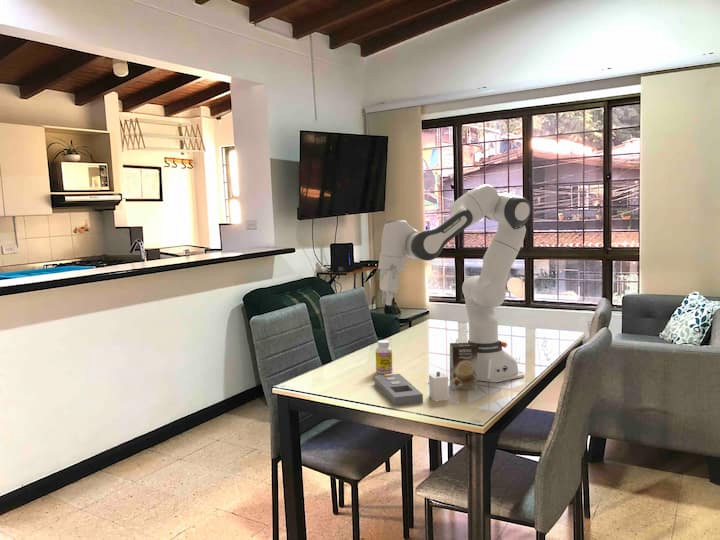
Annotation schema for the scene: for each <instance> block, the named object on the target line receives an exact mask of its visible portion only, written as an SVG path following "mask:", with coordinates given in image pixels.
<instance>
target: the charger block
mask: <svg viewBox="0 0 720 540" xmlns="http://www.w3.org/2000/svg"><path fill="white" fill-rule="evenodd" d="M428 387H429V388H428V390H429V398H431V400H432V401H434V402H437V400H438V401H444V400H445V399H446V400H449V377H448V376H447V375H446V374H445V373H443V372H440V371H436V373H432V374H431V373H430V374H428Z"/></svg>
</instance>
